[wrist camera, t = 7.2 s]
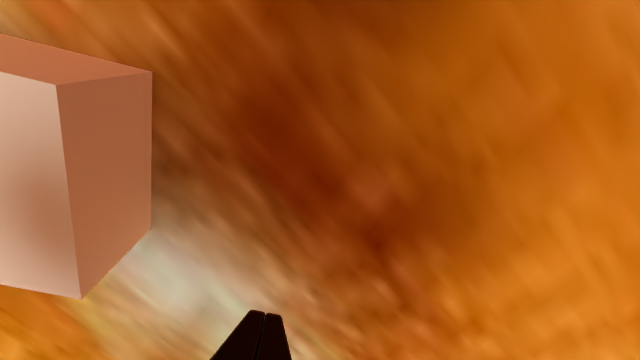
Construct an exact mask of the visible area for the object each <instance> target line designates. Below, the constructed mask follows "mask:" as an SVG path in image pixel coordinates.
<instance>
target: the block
mask: <svg viewBox="0 0 640 360" xmlns="http://www.w3.org/2000/svg"><path fill="white" fill-rule="evenodd" d="M151 154H152V71H148V70H144V69H140V68H136V67H132V66H128V65H124V64H120V63H116V62H112V61H108V60H104V59H100V58H97V57H93V56H89V55H85V54H81V53H77V52H73V51H69V50H65V49H61V48H57V47H53V46H49V45H45V44H41V43H37V42H33V41H30V40H26V39H22V38H18V37H14V36H10V35H6V34H2V33H0V284H2V285H7V286H12V287H17V288H23V289H28V290H33V291H38V292H43V293H49V294H54V295H59V296H64V297H69V298H75V299H80V300H81V299H82V298H83V297H84V296H85V295H86V294H87V293H88V292H89V291H90V290H91V289H92V288H93V287H94V286H95V285H96V284H97V283H98V282H99V281H100V280H101V279H102V278H103V277H104V276H105V275H106V274H107V273H108V272H109V271H110V270H111V269H112V268H113V267H114V266H115V265H116V264H117V263H118V262H119V261H120V260H121V259H122V257H123V256H124V255H125V254H126V253H127V252H128V251H129V250H130V249H131V248H132V247H133V246H134V245H135V244H136V243H137V242H138V241H139V240H140V239H141V238H142V237H143V236H144V235H145V234H146V233H147V232H148V231H149V230H150V229H151Z"/></svg>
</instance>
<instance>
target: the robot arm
mask: <svg viewBox="0 0 640 360" xmlns="http://www.w3.org/2000/svg"><path fill="white" fill-rule="evenodd" d="M264 318H265V319H264ZM261 331H262V332H261ZM210 360H292V358H291V354H290V350H289V346H288V342H287V337H286V333H285V329H284V325H283V321H282V317H281V316H280V315H278V314H272V313H267V314H266V315H265V313H264V312H262V311H257V310H250V311H249V312H248V313H247V314H246V316H245V317H244V318H243V319H242V320H241V322H240V323H239V324H238V325H237V327H236V328H235V329H234V330H233V332H232V333H231V334H230V335H229V337H228V338H227V339H226V340H225V341H224V343H223V344H222V345H221V346H220V348H219V349H218V350H217V351H216V353H215V354H214V355H213V356H212V357H211V359H210Z"/></svg>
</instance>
